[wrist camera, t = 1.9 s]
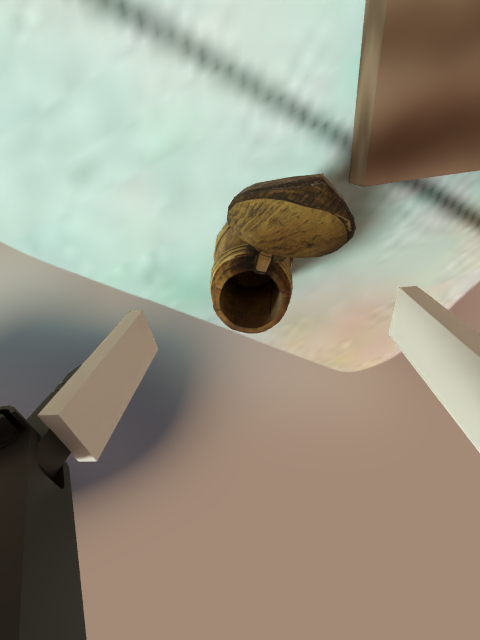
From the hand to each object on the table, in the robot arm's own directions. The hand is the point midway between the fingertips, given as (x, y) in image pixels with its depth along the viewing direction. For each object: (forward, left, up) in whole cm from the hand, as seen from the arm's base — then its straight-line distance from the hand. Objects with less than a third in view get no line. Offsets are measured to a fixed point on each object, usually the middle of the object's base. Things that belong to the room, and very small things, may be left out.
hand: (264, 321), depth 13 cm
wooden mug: (0, 0, -17) cm, 17 cm away
